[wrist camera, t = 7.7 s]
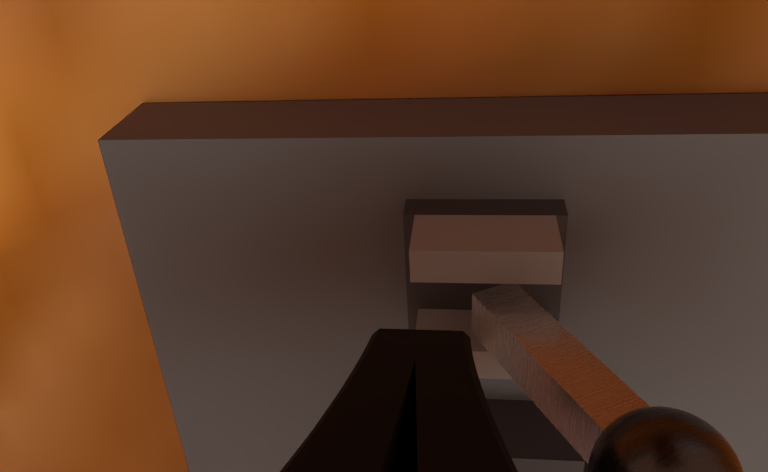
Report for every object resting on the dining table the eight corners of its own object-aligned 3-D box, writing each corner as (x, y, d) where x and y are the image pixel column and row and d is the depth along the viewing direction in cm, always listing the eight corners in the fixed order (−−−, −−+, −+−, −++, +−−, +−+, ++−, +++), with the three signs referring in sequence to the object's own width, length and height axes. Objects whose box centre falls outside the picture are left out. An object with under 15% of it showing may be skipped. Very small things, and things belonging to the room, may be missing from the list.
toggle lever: (445, 363, 12) (645, 621, 8) (444, 275, 11) (668, 516, 7) (535, 334, 13) (764, 560, 9) (540, 248, 12) (799, 456, 8)
